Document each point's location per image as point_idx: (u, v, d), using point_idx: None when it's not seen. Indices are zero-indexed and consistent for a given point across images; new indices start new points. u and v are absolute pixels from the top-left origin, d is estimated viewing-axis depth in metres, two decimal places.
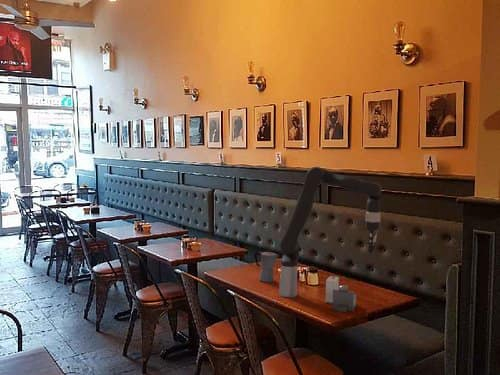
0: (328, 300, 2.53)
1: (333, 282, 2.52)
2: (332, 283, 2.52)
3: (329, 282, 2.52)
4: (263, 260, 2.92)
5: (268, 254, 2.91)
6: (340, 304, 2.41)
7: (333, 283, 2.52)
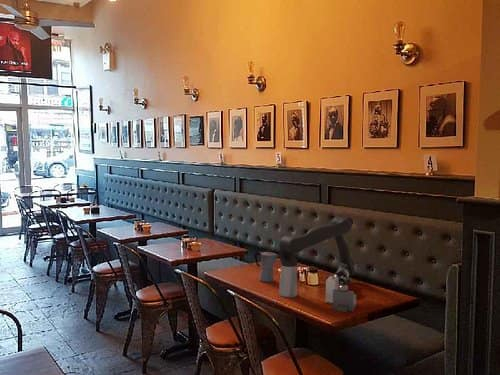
0: (328, 300, 2.53)
1: (333, 282, 2.52)
2: (332, 283, 2.52)
3: (329, 282, 2.52)
4: (263, 260, 2.92)
5: (268, 254, 2.91)
6: (340, 304, 2.41)
7: (333, 283, 2.52)
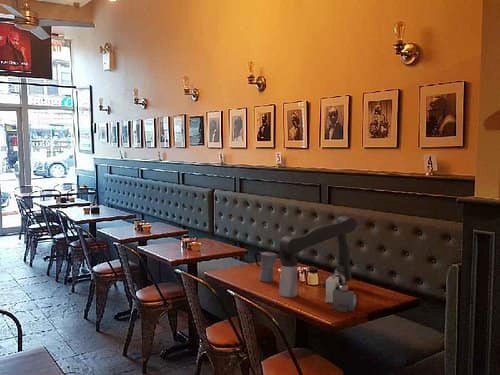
0: (328, 300, 2.53)
1: (333, 282, 2.51)
2: (332, 283, 2.52)
3: (329, 282, 2.52)
4: (263, 260, 2.92)
5: (268, 254, 2.91)
6: (340, 304, 2.41)
7: (333, 283, 2.52)
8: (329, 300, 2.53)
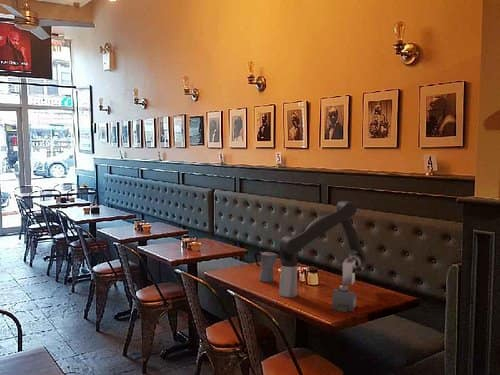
0: (345, 282, 2.51)
1: (350, 264, 2.49)
2: (349, 265, 2.49)
3: (346, 264, 2.50)
4: (263, 260, 2.92)
5: (268, 254, 2.91)
6: (340, 304, 2.41)
7: (350, 265, 2.49)
8: (346, 282, 2.51)
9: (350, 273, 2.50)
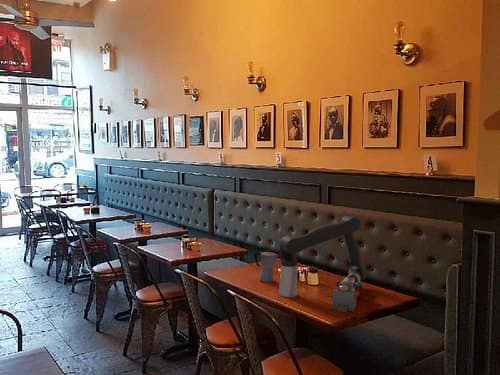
0: None
1: (349, 283, 2.50)
2: (348, 284, 2.50)
3: (345, 283, 2.51)
4: (263, 260, 2.92)
5: (268, 254, 2.91)
6: (340, 304, 2.41)
7: (349, 284, 2.50)
8: None
9: None
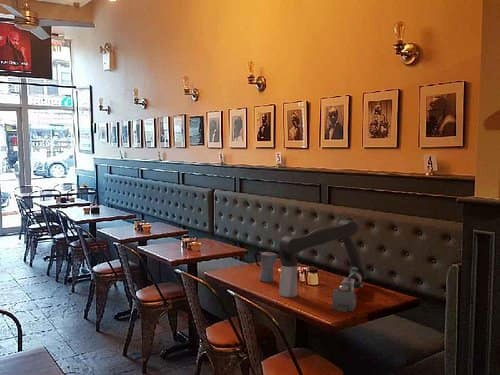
0: None
1: (349, 284, 2.49)
2: (348, 285, 2.49)
3: (345, 284, 2.49)
4: (263, 260, 2.92)
5: (268, 254, 2.91)
6: (340, 304, 2.41)
7: (349, 285, 2.49)
8: None
9: None
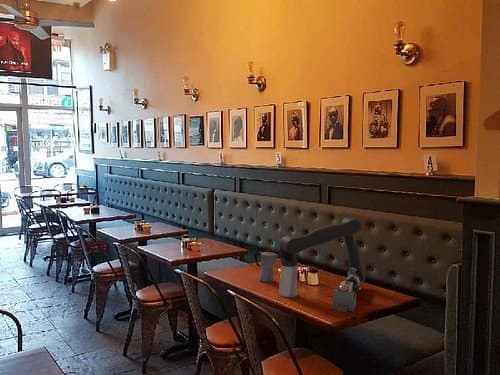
0: None
1: None
2: None
3: None
4: (263, 260, 2.92)
5: (268, 254, 2.91)
6: (340, 304, 2.41)
7: None
8: None
9: None
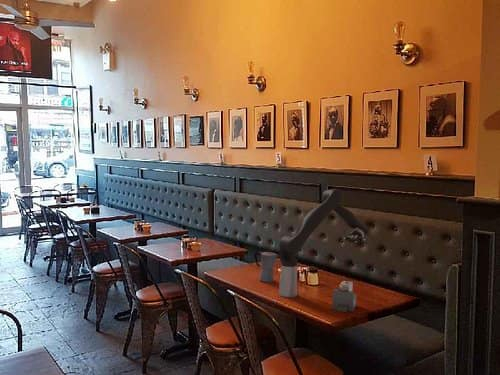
0: None
1: None
2: None
3: None
4: (263, 260, 2.92)
5: (268, 254, 2.91)
6: (340, 304, 2.41)
7: None
8: None
9: None
